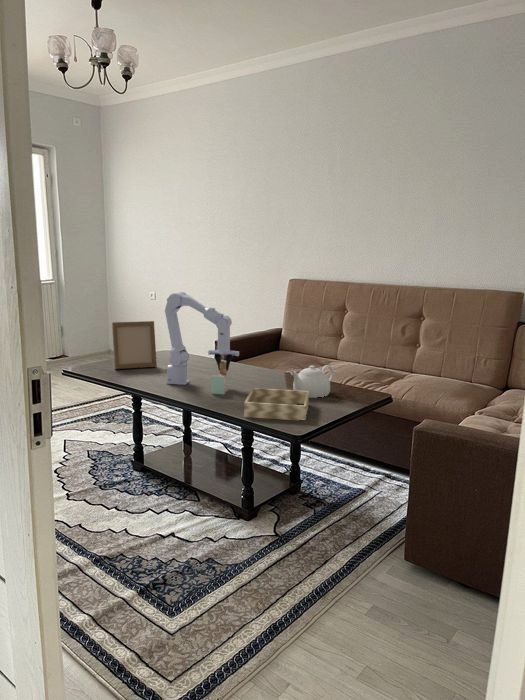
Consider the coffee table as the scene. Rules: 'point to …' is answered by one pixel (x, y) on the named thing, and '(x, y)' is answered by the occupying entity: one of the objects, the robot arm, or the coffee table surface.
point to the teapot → (313, 381)
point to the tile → (217, 384)
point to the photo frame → (134, 344)
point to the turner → (223, 368)
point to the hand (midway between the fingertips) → (223, 370)
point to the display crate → (276, 410)
